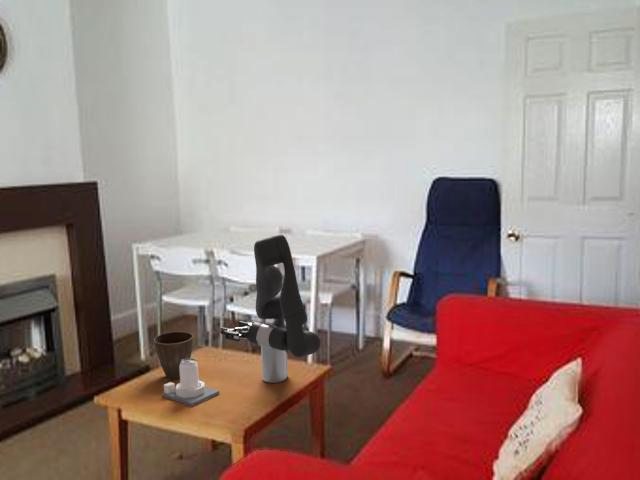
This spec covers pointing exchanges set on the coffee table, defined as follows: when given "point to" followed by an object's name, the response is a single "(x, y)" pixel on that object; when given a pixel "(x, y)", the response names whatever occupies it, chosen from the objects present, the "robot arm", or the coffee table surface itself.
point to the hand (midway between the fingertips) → (230, 327)
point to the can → (189, 374)
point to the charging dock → (194, 399)
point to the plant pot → (173, 351)
